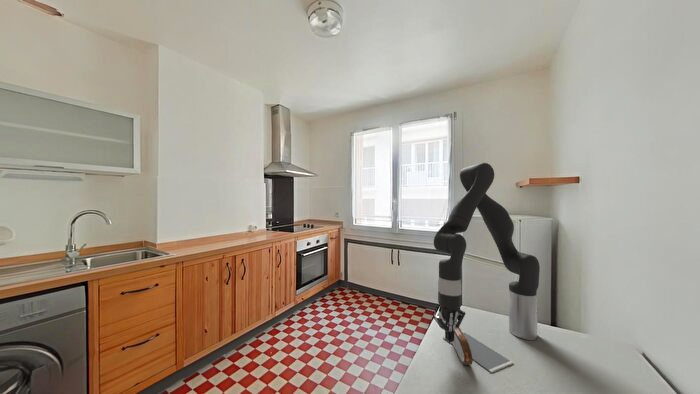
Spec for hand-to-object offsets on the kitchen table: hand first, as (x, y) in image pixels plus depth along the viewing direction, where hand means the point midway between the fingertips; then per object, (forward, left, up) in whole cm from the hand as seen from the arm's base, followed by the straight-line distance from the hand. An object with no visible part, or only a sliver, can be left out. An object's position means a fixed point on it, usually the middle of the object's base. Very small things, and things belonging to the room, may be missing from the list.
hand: (449, 340), depth 81 cm
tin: (-5, 0, -6) cm, 8 cm away
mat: (-13, 0, -6) cm, 14 cm away
